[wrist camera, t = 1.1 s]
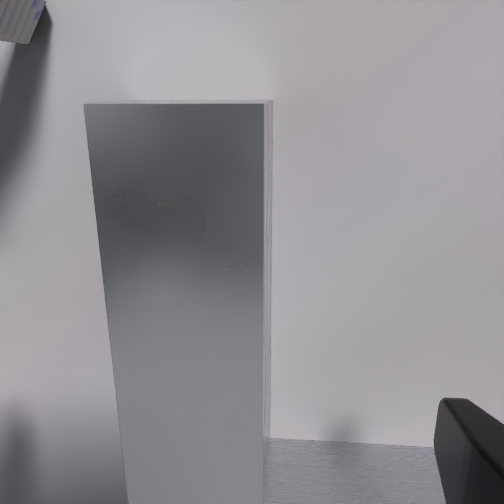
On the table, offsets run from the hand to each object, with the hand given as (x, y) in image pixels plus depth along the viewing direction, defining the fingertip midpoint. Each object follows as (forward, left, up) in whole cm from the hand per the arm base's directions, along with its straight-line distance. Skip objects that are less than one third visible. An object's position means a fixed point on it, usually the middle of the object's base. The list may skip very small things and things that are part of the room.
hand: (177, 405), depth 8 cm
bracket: (-3, +1, -4) cm, 5 cm away
